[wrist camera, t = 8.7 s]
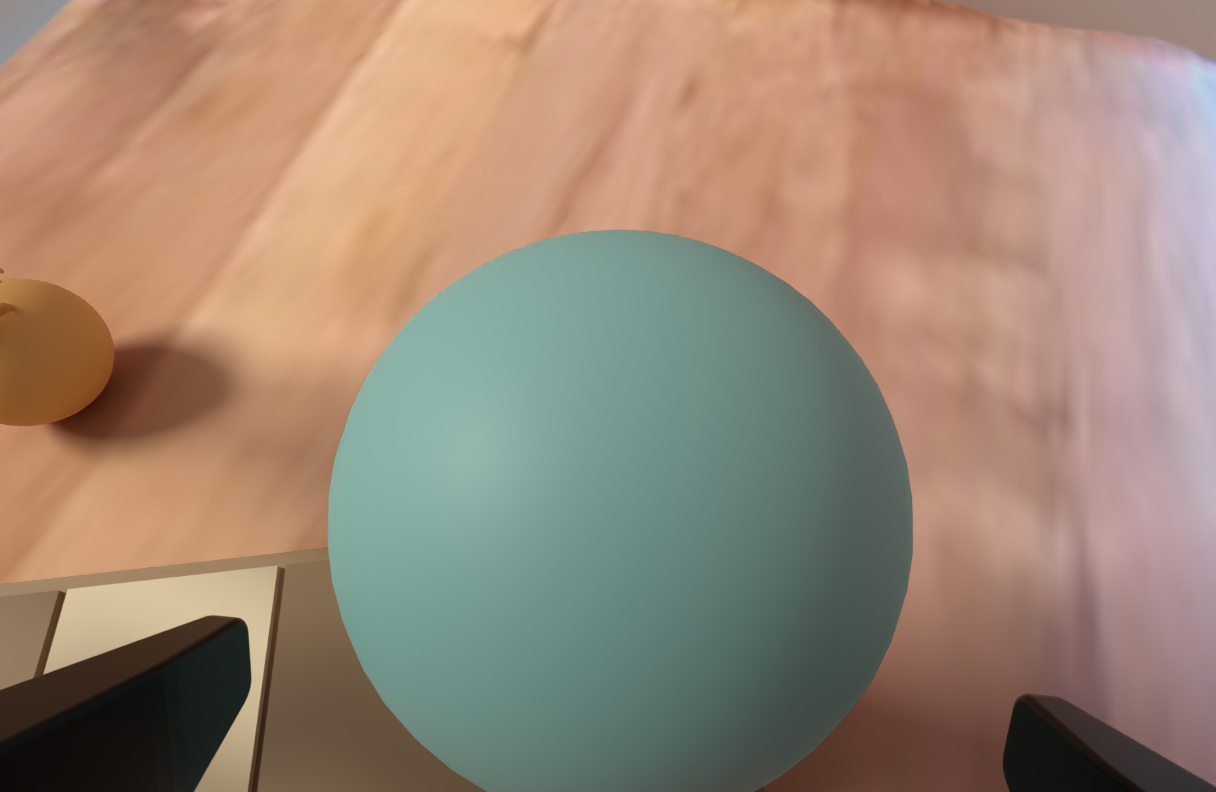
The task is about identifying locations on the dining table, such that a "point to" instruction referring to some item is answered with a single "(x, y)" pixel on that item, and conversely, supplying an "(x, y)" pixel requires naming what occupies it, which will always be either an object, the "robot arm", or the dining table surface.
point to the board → (280, 667)
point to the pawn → (620, 521)
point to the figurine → (49, 353)
